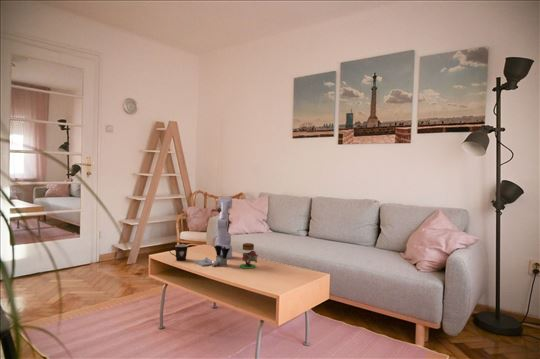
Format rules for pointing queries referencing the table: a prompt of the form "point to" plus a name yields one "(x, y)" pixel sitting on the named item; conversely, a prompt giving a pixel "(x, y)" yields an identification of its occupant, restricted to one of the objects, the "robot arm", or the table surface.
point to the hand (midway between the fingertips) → (221, 257)
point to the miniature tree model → (249, 256)
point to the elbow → (219, 261)
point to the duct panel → (204, 262)
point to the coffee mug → (180, 252)
